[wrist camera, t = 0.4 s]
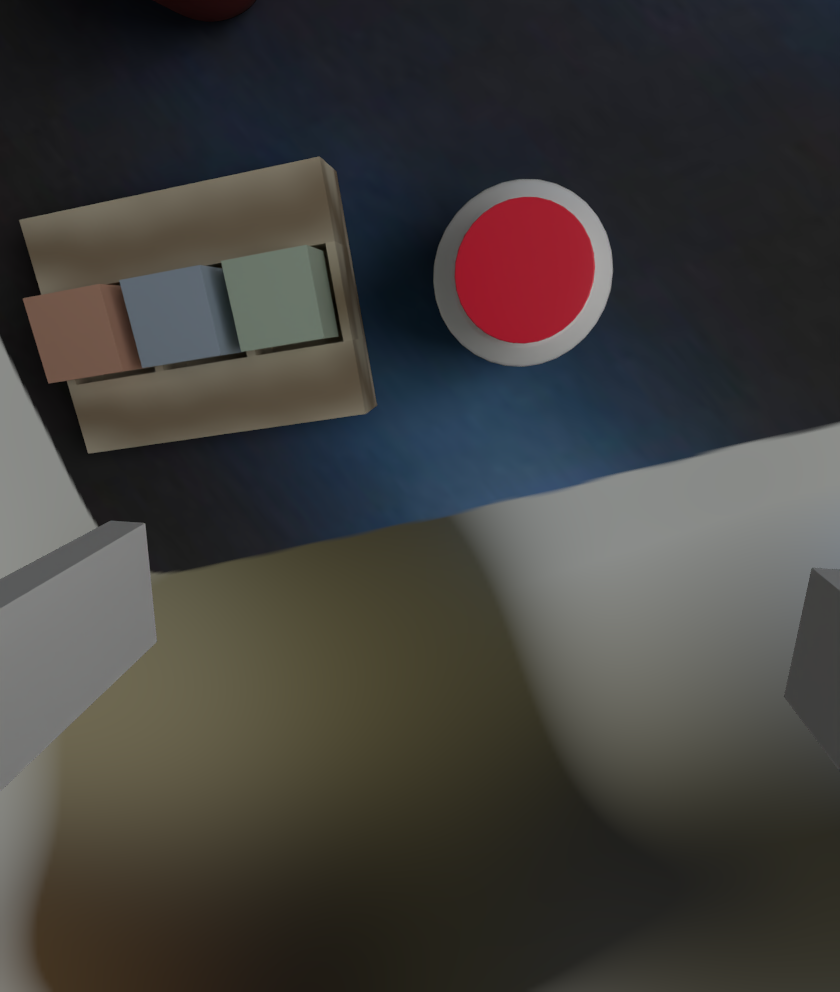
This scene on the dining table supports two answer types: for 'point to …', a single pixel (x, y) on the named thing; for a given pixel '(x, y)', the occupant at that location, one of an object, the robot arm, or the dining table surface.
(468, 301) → the pill bottle
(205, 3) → the mug
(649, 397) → the dining table surface
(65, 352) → the tile terracotta
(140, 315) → the tile slate
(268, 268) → the tile sage
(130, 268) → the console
